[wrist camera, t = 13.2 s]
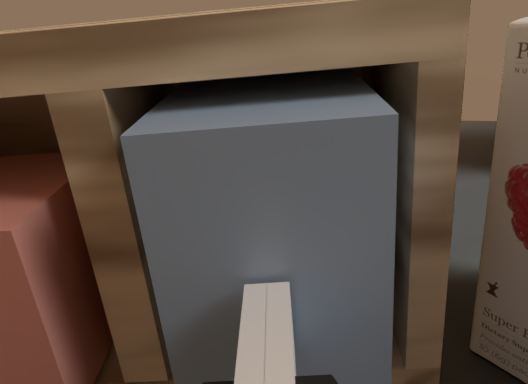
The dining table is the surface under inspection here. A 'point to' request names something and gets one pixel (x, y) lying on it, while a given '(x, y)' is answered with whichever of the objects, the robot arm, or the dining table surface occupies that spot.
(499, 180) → the supplement box
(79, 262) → the red cube
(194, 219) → the blue gray block
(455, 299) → the dining table surface
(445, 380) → the dining table surface
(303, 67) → the console
